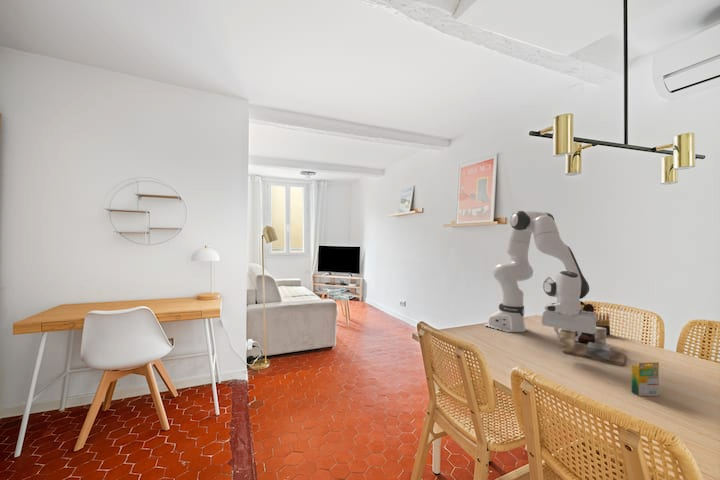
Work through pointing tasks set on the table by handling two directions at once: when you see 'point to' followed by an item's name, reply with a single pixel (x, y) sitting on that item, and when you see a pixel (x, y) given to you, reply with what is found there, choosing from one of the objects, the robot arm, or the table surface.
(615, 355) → the building board
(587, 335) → the dark brown rounded figure
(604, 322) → the ammunition clip
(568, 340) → the maple block
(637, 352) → the table surface
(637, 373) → the crayon box
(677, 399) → the table surface
